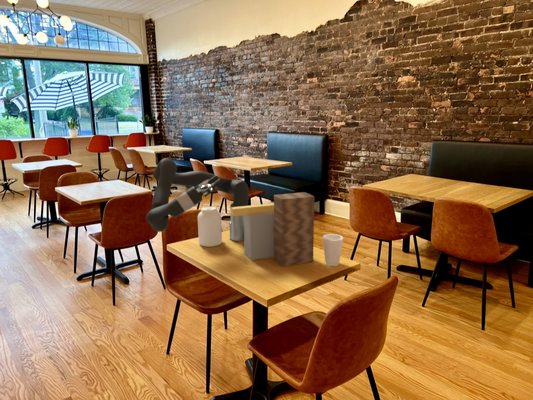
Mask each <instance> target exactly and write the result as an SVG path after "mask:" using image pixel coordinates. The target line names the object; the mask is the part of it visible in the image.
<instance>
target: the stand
mask: <svg viewBox="0 0 533 400" xmlns="http://www.w3.org/2000/svg"><path fill="white" fill-rule="evenodd" d="M273 203H274V257H273V258H274V259H273V260H274V261H276V262H277V264H278V265H280V266H281V267H288V266H289V267H290V266H295V265H301V264H306V263H307V264H308V263H314V237H315V236H314V235H315V234H314V233H315V228H314V227H315V196H314V195H312V194H310V193H307V192H305V191H303V192H302V191H301V192H293V193H283V194H281V193H279V194H274V195H273Z"/></svg>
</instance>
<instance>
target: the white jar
mask: <svg viewBox="0 0 533 400" xmlns="http://www.w3.org/2000/svg"><path fill="white" fill-rule="evenodd" d="M197 228H198V230H197V232H198V233H197V234H198V244H199V245H200V246H202V247H207V248H208V247H209V248H210V247H217V246H219V245H221V244H222V242H223V231H222V230H223V229H222V214H221V213H220V211H218V208H217V207H216V206H204V207H201V209H200V212H199V213H198V214H197Z"/></svg>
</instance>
